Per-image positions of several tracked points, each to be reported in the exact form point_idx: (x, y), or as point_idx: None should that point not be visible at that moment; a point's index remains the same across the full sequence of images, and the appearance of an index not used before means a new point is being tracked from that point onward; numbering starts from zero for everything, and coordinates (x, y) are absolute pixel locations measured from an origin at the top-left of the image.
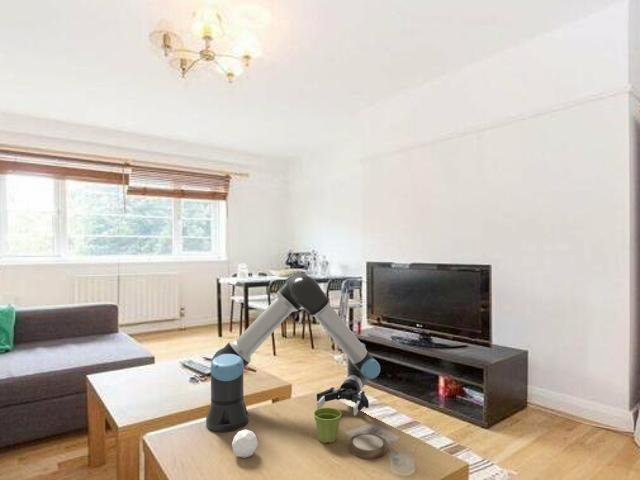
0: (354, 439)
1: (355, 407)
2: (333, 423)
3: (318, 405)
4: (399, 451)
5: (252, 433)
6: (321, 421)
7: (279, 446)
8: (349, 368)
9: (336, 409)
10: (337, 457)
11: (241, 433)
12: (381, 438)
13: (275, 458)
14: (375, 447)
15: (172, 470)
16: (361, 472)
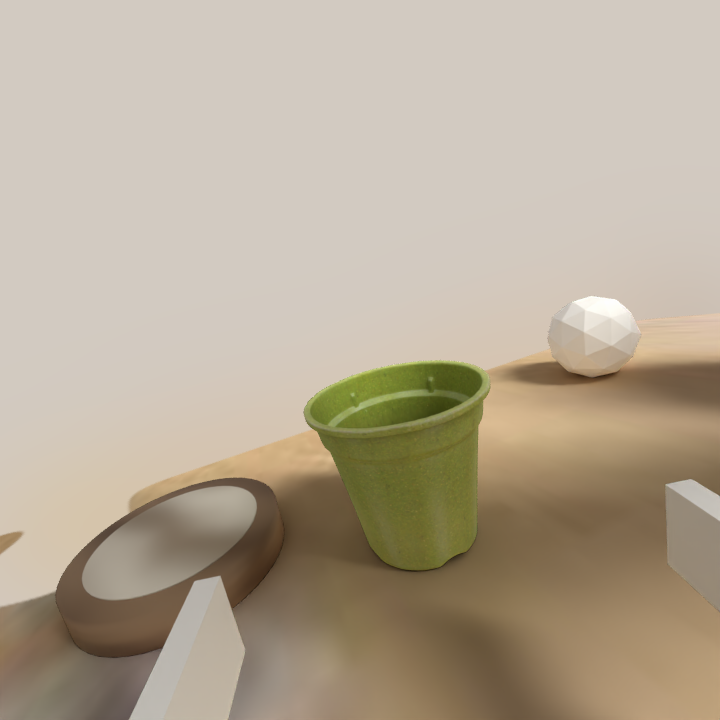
0: (248, 518)
1: (192, 592)
2: (343, 412)
3: (675, 512)
4: (6, 618)
5: (573, 312)
6: (399, 382)
7: (561, 420)
8: None
9: (360, 429)
10: (319, 470)
11: (586, 297)
12: (73, 600)
13: (504, 397)
14: (147, 516)
15: (647, 321)
16: (229, 461)
